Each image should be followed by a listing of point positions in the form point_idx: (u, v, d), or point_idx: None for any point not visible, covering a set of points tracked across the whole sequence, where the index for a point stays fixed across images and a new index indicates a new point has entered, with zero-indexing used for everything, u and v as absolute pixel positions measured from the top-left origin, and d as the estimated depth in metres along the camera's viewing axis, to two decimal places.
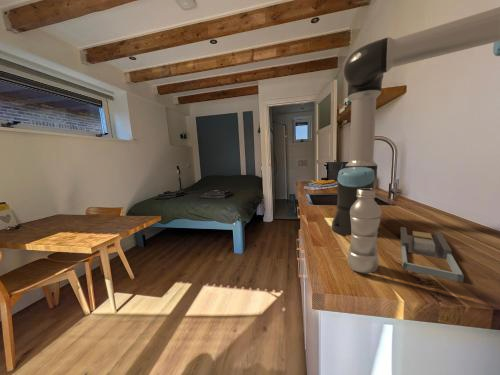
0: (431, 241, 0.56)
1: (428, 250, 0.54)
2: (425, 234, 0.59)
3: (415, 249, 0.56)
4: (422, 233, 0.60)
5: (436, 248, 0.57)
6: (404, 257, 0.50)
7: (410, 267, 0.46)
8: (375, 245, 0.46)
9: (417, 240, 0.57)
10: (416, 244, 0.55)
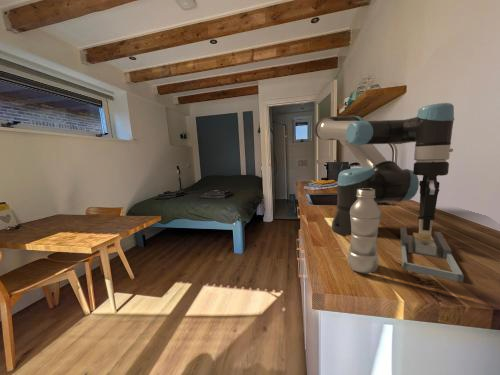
0: (432, 243, 0.55)
1: (429, 252, 0.53)
2: (426, 236, 0.58)
3: (416, 251, 0.55)
4: (423, 235, 0.59)
5: None
6: (404, 257, 0.50)
7: (410, 267, 0.46)
8: (375, 245, 0.46)
9: (418, 241, 0.56)
10: (417, 246, 0.54)
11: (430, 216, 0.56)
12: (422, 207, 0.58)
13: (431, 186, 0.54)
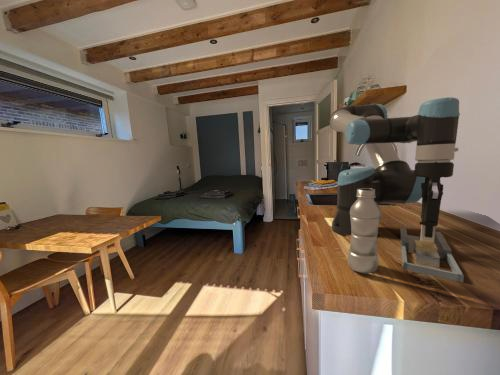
0: (435, 253, 0.50)
1: (432, 263, 0.48)
2: (429, 244, 0.53)
3: (417, 262, 0.50)
4: (425, 242, 0.54)
5: None
6: (404, 257, 0.50)
7: (410, 267, 0.46)
8: (375, 245, 0.46)
9: (420, 251, 0.51)
10: (418, 256, 0.49)
11: (433, 222, 0.51)
12: (424, 212, 0.53)
13: (434, 189, 0.49)
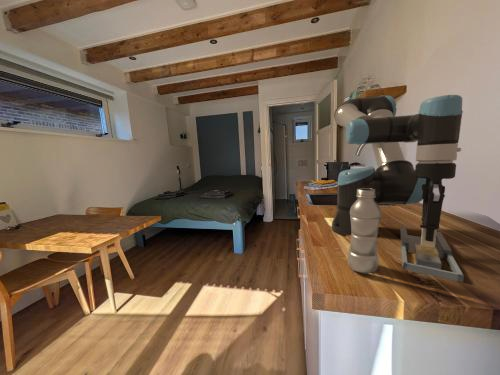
0: (436, 257, 0.47)
1: None
2: (430, 249, 0.51)
3: None
4: (426, 247, 0.52)
5: (436, 248, 0.57)
6: (404, 257, 0.50)
7: (410, 267, 0.46)
8: (375, 245, 0.46)
9: (420, 256, 0.48)
10: (419, 261, 0.47)
11: (434, 225, 0.49)
12: (425, 215, 0.51)
13: (435, 191, 0.47)
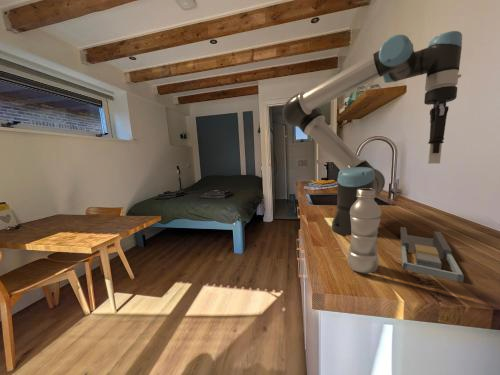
0: (436, 257, 0.47)
1: None
2: (430, 249, 0.51)
3: None
4: (426, 247, 0.52)
5: (436, 248, 0.57)
6: (404, 257, 0.50)
7: (410, 267, 0.46)
8: (375, 245, 0.46)
9: (420, 256, 0.48)
10: (419, 261, 0.47)
11: (440, 137, 0.62)
12: (432, 132, 0.65)
13: (441, 107, 0.60)
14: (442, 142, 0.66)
